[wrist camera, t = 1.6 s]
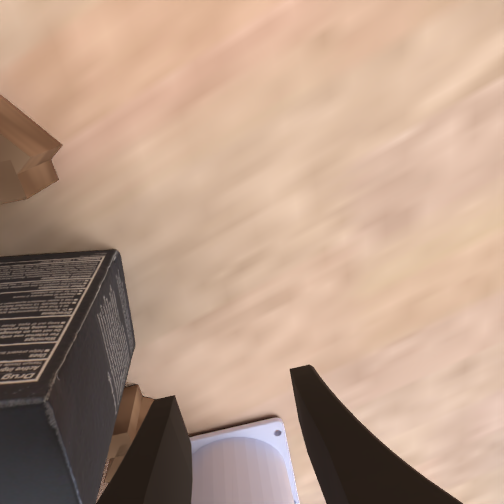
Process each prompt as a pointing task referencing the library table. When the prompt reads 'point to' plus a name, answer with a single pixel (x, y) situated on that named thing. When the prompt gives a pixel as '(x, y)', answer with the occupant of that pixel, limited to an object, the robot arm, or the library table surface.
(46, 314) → the small box
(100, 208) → the library table surface
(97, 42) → the library table surface
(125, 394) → the chute
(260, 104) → the library table surface
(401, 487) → the robot arm
